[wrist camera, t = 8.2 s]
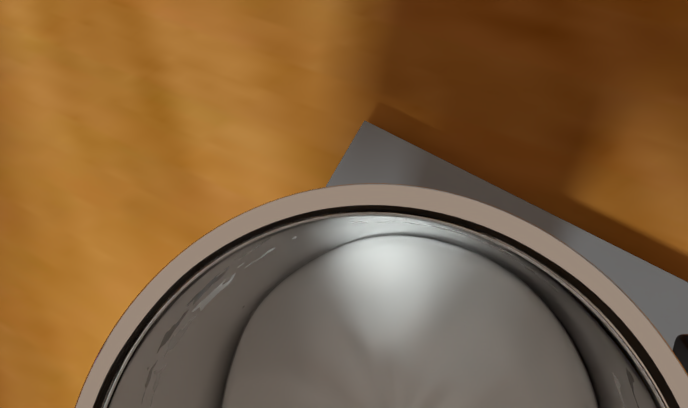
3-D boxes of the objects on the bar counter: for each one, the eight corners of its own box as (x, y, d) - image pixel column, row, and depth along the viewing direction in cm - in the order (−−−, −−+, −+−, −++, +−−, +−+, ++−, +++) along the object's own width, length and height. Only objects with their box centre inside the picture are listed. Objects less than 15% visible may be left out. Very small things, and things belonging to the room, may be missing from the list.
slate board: (524, 683, 18) (528, 704, 17) (188, 436, 22) (176, 441, 21) (716, 304, 19) (730, 303, 18) (368, 128, 23) (364, 120, 22)
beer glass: (485, 245, 20) (577, 65, 6) (562, 445, 18) (968, 901, 4) (305, 307, 21) (-16, 284, 6) (363, 504, 19) (105, 1068, 5)
